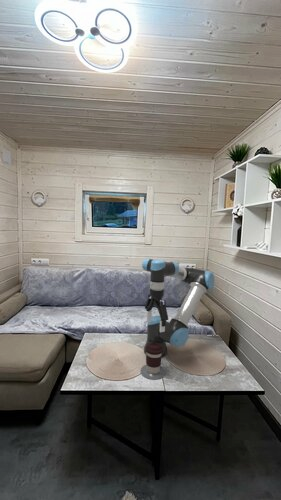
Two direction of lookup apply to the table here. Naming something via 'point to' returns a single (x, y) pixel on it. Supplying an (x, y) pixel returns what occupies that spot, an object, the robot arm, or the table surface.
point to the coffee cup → (153, 357)
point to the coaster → (153, 376)
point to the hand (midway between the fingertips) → (155, 326)
